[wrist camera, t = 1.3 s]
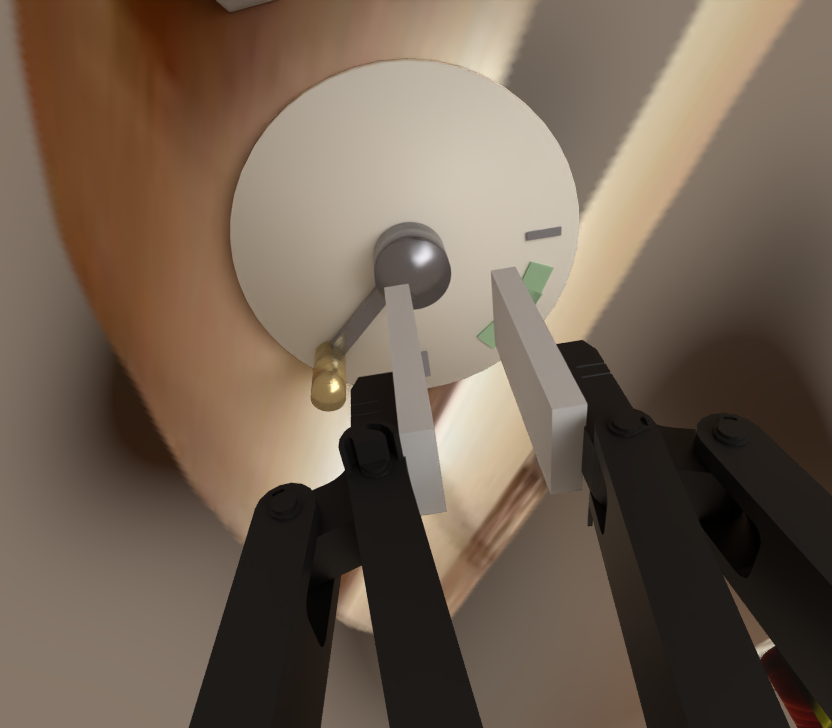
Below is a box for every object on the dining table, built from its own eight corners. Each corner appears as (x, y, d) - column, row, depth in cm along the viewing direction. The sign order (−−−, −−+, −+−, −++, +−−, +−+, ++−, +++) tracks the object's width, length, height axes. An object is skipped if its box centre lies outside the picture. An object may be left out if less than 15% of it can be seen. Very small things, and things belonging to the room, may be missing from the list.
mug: (802, 679, 89) (857, 768, 80) (746, 662, 84) (798, 755, 75) (856, 649, 85) (921, 739, 75) (801, 629, 80) (864, 723, 70)
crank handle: (402, 207, 38) (408, 239, 33) (459, 248, 40) (472, 283, 35) (293, 350, 43) (287, 393, 39) (349, 380, 45) (348, 423, 41)
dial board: (364, -42, 31) (364, -42, 30) (642, 209, 41) (650, 216, 40) (172, 285, 41) (167, 294, 40) (433, 423, 51) (435, 433, 50)
